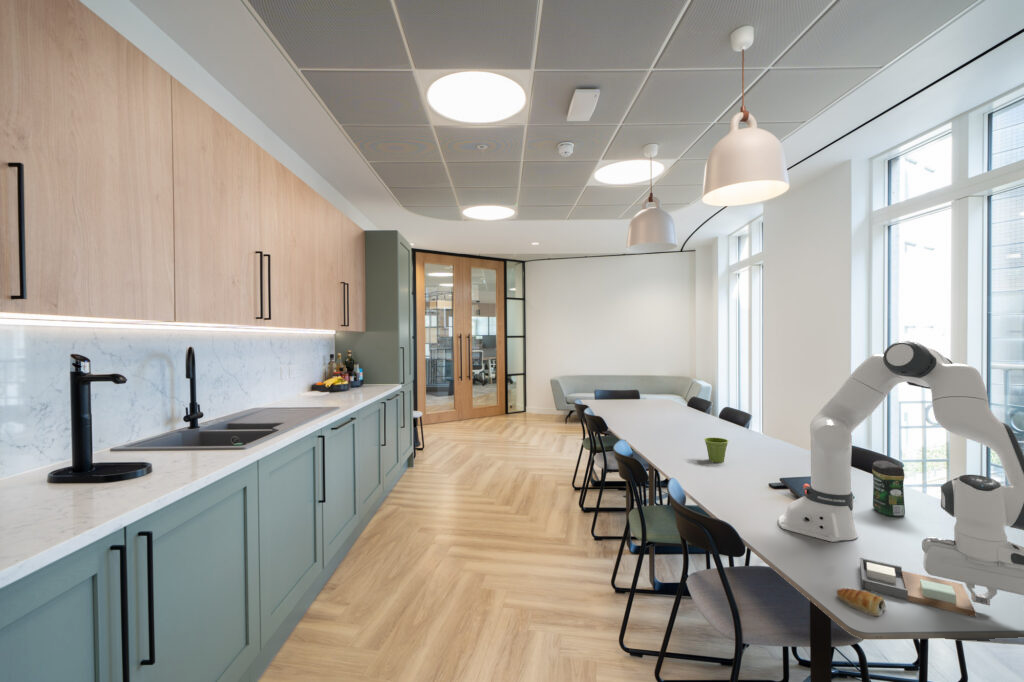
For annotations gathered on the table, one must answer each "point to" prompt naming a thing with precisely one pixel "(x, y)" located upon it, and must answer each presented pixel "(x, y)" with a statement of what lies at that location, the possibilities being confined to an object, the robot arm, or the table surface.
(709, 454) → the plant pot
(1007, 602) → the table surface
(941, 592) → the tile sage
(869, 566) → the tile cream
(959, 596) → the board
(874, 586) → the tray
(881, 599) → the pastry
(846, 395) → the robot arm
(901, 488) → the coffee jar
